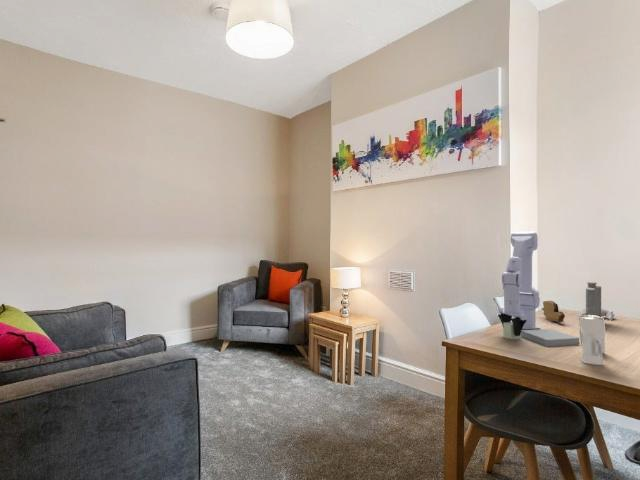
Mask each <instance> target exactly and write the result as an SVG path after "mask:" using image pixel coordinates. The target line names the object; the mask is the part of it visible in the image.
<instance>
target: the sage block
mask: <svg viewBox="0 0 640 480" xmlns="http://www.w3.org/2000/svg"><path fill="white" fill-rule="evenodd" d="M502 329H503V337H504V336H505V337H504V338H506V337H508V338H510V339H513V340H522V337H521V334H520V336H515V335H514V327H513V323H512V321H511V322H503V325H502ZM508 338H507V339H508ZM510 339H509V340H510Z"/></svg>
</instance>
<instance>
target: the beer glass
mask: <svg viewBox="0 0 640 480" xmlns="http://www.w3.org/2000/svg"><path fill="white" fill-rule="evenodd" d="M578 334H579V341H580V343H581V344H580V345H581V356H580V361H581V362H582V363H584V364H587V365H591V366H603V365H604V357H603V354H602V349H603V344H604V339H605V340H606V324H605V318H604V317H603V316H602V317H598V316H591V315H581V316H580V319H579V323H578Z"/></svg>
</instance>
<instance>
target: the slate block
mask: <svg viewBox="0 0 640 480" xmlns="http://www.w3.org/2000/svg"><path fill="white" fill-rule="evenodd" d="M521 336H522V337H521V338H525V339H526V338H527V339H526V340H529V341H532V342H534V343H537V344H539V345H542V346H545V347H559V346H574V345H575V346H577V345H580V337H578V336H575V335H571V334H568V333H565V332H562V331H558V330H556V329H552V328H545V329H544V328H543V329H541V328H540V329H522V331H521Z"/></svg>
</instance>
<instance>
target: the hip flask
mask: <svg viewBox="0 0 640 480" xmlns="http://www.w3.org/2000/svg"><path fill="white" fill-rule="evenodd" d="M586 284H587V287H585V309H586V315H591V316H598V317H601V309H602V286H600V285H597V282H595V281H587V282H586Z"/></svg>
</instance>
